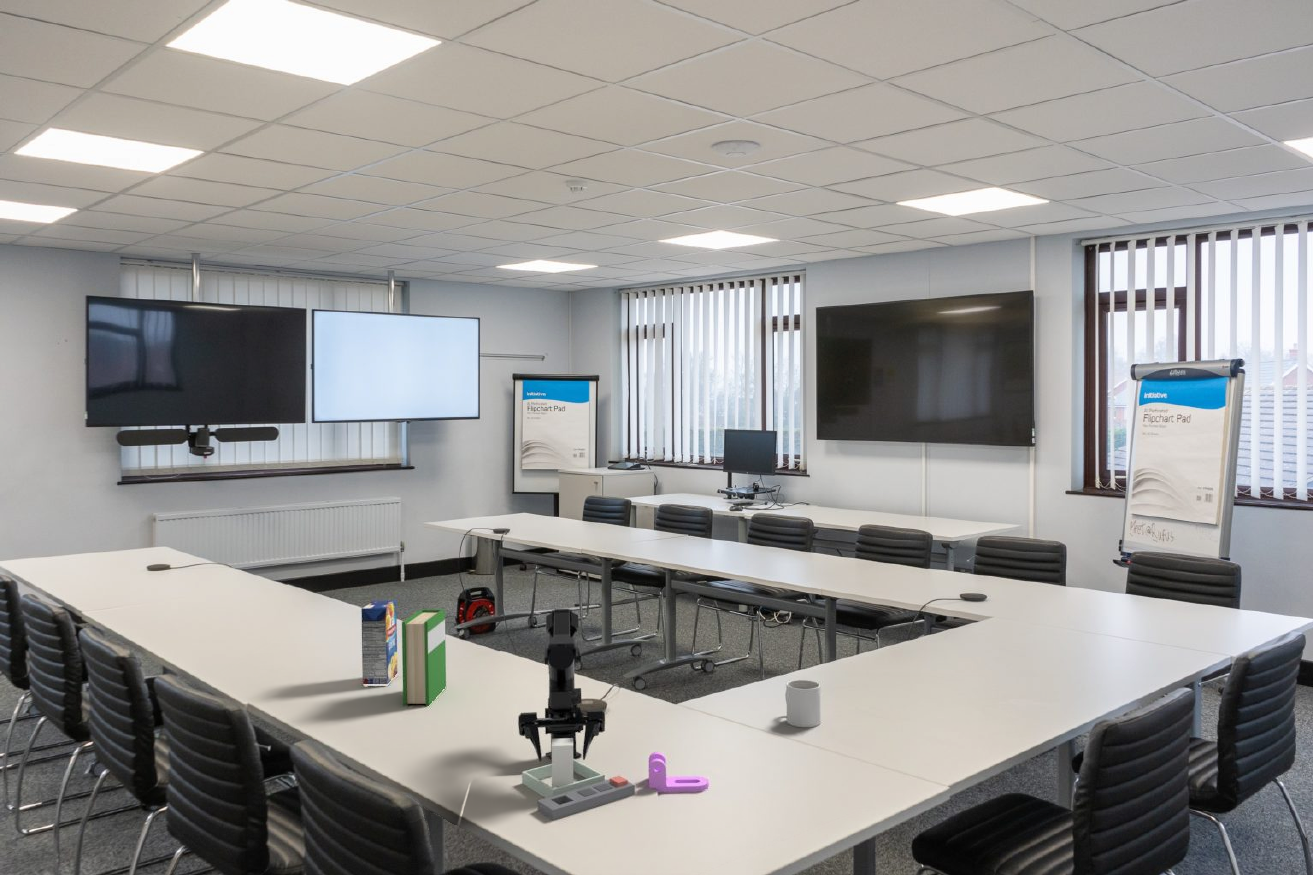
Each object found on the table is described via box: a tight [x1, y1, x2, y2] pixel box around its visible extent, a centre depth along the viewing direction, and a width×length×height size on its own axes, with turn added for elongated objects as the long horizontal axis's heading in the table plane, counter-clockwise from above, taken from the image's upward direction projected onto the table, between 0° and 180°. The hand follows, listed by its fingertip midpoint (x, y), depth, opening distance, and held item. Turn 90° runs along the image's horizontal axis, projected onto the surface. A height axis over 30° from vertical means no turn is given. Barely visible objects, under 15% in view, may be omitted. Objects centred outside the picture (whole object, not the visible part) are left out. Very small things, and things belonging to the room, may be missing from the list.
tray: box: [521, 758, 606, 798], centre depth 200 cm, size 13×13×4 cm
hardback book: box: [401, 608, 447, 707], centre depth 269 cm, size 18×7×24 cm, turn 177°
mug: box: [784, 679, 822, 728], centre depth 243 cm, size 11×10×10 cm
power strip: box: [537, 775, 636, 821], centre depth 190 cm, size 20×6×4 cm, turn 127°
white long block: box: [551, 738, 574, 788], centre depth 196 cm, size 4×4×11 cm
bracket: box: [648, 751, 710, 793], centre depth 200 cm, size 13×6×7 cm, turn 90°
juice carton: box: [360, 600, 398, 685], centre depth 286 cm, size 12×8×24 cm, turn 1°
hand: (562, 759), depth 195 cm, fingers open, 9 cm apart
